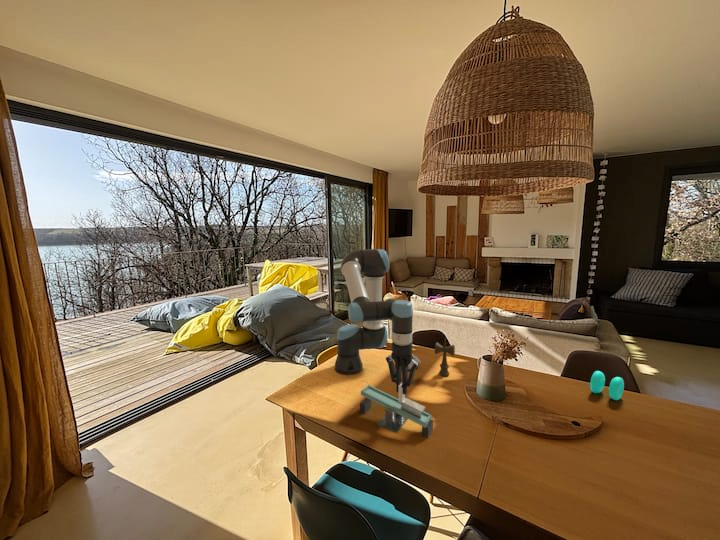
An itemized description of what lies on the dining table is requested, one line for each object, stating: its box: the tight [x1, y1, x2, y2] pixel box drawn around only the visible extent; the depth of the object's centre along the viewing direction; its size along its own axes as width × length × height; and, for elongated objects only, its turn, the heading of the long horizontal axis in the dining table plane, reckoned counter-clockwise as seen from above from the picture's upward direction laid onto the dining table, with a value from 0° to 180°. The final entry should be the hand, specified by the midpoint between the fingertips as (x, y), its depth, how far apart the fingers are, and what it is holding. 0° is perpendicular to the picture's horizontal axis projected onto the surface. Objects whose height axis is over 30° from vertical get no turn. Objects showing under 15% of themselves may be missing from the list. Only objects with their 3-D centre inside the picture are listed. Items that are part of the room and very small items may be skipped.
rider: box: [401, 397, 426, 419], centre depth 114 cm, size 3×8×4 cm, turn 57°
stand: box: [359, 396, 434, 438], centre depth 119 cm, size 13×29×7 cm, turn 57°
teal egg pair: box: [589, 370, 625, 401], centre depth 134 cm, size 10×10×10 cm
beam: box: [360, 384, 433, 428], centre depth 118 cm, size 7×28×2 cm, turn 57°
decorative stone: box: [408, 353, 422, 371], centre depth 167 cm, size 13×10×6 cm
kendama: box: [434, 337, 456, 377], centre depth 154 cm, size 6×10×20 cm, turn 67°
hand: (401, 400), depth 116 cm, fingers closed
